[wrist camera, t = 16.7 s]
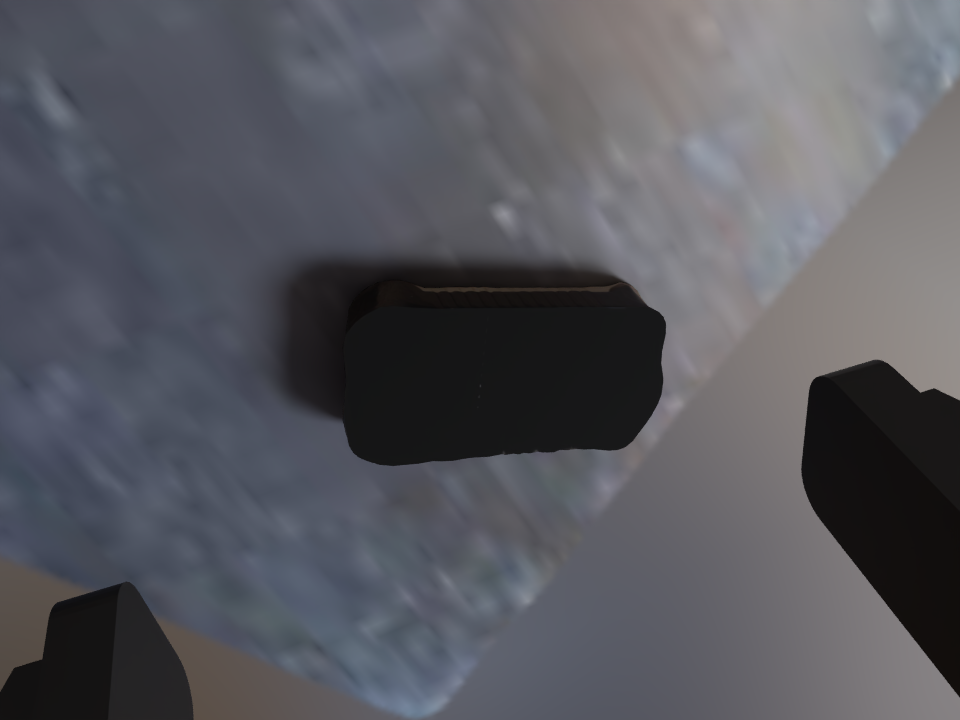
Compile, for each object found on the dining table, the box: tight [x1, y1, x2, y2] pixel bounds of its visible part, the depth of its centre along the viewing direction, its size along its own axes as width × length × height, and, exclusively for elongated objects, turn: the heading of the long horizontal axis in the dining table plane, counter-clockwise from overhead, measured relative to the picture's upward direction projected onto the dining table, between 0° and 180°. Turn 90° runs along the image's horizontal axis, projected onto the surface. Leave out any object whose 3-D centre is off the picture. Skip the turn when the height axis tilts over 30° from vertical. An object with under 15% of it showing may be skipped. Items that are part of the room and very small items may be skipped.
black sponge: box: [343, 280, 666, 466], centre depth 44 cm, size 16×8×4 cm, turn 79°
